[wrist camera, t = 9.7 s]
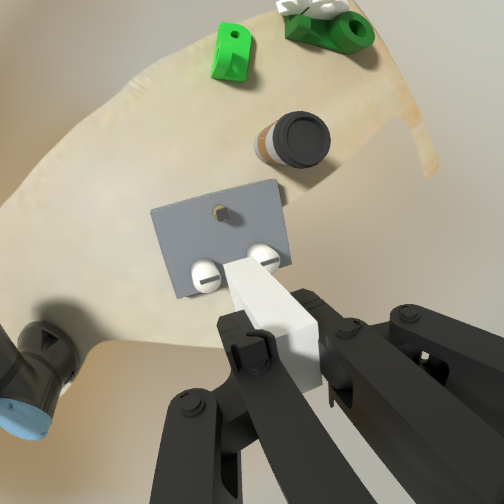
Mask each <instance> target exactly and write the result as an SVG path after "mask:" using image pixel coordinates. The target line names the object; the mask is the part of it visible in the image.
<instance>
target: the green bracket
mask: <svg viewBox="0 0 504 504" xmlns="http://www.w3.org/2000/svg"><path fill="white" fill-rule="evenodd" d="M309 8H310V7H307V8H306V9H305V10H304V11H303V12H302V13H301V14H296V15H288V16H287V15H285V39H290V40H295V41H299V42H303V43H308V44H312V45H316V46H319V47H323V48H327V49H330V50H333V51H337V52H340V53H343V54H352V53H354V52H356V51H358V50H361V49H363V48H365V47H368V46H370V45H372V44H373V42H374V39H375V34H374V31H373V28H372V26H371V25H370V23H369V22H368V21H367V20H366V19H365V18H364V17H363V16H361V15H360V14H358V13H356V12H352V11H347V12H343V13H342V14H340V15H339V16H337V17H336V18H334V19H333V20H331V21H330V20H322V19H313V18H311V17H308V16H304V15H303V14H304V13H305V12H306V11H307V10H308V9H309Z"/></svg>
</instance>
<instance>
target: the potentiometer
mask: <svg viewBox="0 0 504 504" xmlns="http://www.w3.org/2000/svg"><path fill="white" fill-rule="evenodd" d="M212 215H213V216H214V217H215V218H216V219H217V220H218V222H224V221H226V220H228V219H230V217H229V216H230V212H229V210H228V208H227V207H225V206H223V205H220V204H218V205H215V206H214V207H213V209H212Z"/></svg>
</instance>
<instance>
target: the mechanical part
mask: <svg viewBox="0 0 504 504" xmlns="http://www.w3.org/2000/svg"><path fill="white" fill-rule="evenodd" d="M231 35H236V36H237V37H238V38H233V37H232V36H231ZM250 44H251V34H250V32H249V31H248V29H246V28H245V27H244V26H242V25H239V24H233V23H226V22H221V23H220V25H219V30H218V36H217V41H216V47H215V53H214V59H213V66H212V72H211V78H217V79H225V80H232V81H239V82H244V81H245V80H246V76H247V68H248V60H249V52H250Z"/></svg>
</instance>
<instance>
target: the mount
mask: <svg viewBox="0 0 504 504" xmlns="http://www.w3.org/2000/svg"><path fill="white" fill-rule="evenodd" d="M218 204H220V205H223V206H225V207H227V208H228V210H229V212H230V216H229V217H230V219H228V220H226V221H224V222H218V220H217V219H216V218H215V217H214V216H213V215H212V209H213V207H214V206H215V205H218ZM150 213H151V217H152V221H153V224H154V228H155V231H156V235H157V238H158V241H159V245H160V248H161V251H162V254H163V258H164V261H165V264H166V267H167V270H168V273H169V276H170V279H171V282H172V285H173V288H174V291H175V294H176V297H177V299H179V298H183V297H186V296H190V295H193V294H196V293H200V291H198V290H197V289H196V288H195V286H194V283H193V279H192V274H191V267H192V265H193V263H194V262H195V261H196V260H198V259H200V258H208V259H210V260H212V261H213V262H214V263H215V265H216V267H217V269H218V271H219V273H220V276H221V284H220V286H223V285H227V284H228V282H227V278H226V274H225V270H224V267H223V264H227V263H230V262H234V261H237V260H240V259H244V258H247V256H246V254H247V250H248V248H249V247H250V246H251V245H252V244H253V243H256V242H263V243H265V244H267V245H268V246H269V247H271V248H272V249H273V250H274V251H276V252H277V253H278V255H279V257H280V265H279V267H278V268H281V267H284V266H288V265H291V264H292V263H291V256H290V250H289V244H288V239H287V233H286V227H285V221H284V215H283V210H282V204H281V199H280V193H279V188H278V183H277V180H276V179H269V180H264V181H260V182H255V183H251V184H247V185H242V186H238V187H234V188H230V189H226V190H222V191H218V192H214V193H210V194H206V195H202V196H198V197H195V198H191V199H187V200H184V201H180V202H176V203H173V204H169V205H166V206H162V207H159V208H156V209H152V210H151V211H150ZM220 286H219V287H220Z"/></svg>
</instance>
